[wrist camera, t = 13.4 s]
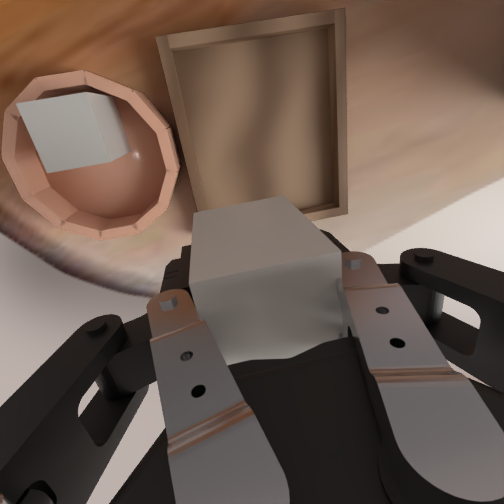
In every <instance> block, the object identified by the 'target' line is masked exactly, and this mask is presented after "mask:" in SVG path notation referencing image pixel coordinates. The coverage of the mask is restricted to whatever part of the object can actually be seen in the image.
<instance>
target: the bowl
mask: <svg viewBox="0 0 504 504" xmlns="http://www.w3.org/2000/svg"><path fill="white" fill-rule="evenodd" d="M83 92H90V93H95V94H101V95H106V96H112V97H115V100H116V103H117V106H118V110H119V113H120V116H121V119H122V122H123V125H124V129H125V132H126V135H127V138H128V141H129V144H130V147H131V152H129V153H127V154H125V155H123V156H122V157H120V158H118V159H116V160H114V161H112V162H108V163H102V164H96V165H91V166H85V167H80V168H74V169H69V170H63V171H57V172H52V173H47V172H46V170H45V167H44V165H43V163H42V161H41V159H40V156H39V154H38V152H37V150H36V147H35V145H34V143H33V141H32V138H31V136H30V134H29V132H28V130H27V127H26V125H25V123H24V121H23V118H22V116H21V114H20V112H19V110H18V107H17V105H16V103H22V102H28V101H34V100H40V99H46V98H52V97H58V96H64V95H71V94H77V93H83ZM5 111H6V112H4V122H3V135H2V149H1V156H3V157H1V158H2V160H3V162H4V164H5V166H6V168H7V170H8V172H9V174H10V176H11V178H12V180H13V182H14V184H15V186H16V188H17V190H18V192H19V194H20V196H21V198H22V199H24V200H23V201H25V202H26V203H27V204H28V205H30V206H31V207H32V208H33V209H35V210H36V211H37V212H38V213H40V214H41V215H42V216H44V217H45V218H46V219H47V220H49V221H50V222H51V223H52V224H54V225H55V226H56V227H57V228H60V229H61V230H64V231H68V232H72V233H76V234H79V235H83V236H87V237H90V238H94V239H98V240H101V239H102V240H106V239H111V238H117V237H122V236H127V235H132V234H138V233H139V232H141V231H143V230H144V229H145V228H146V227H147V226H148V225H149V224H151V223H152V222H153V221H154V220H155V219H156V218H157V217H159V216H160V215H161V214H162V213H163V212H164V211H165V210H167V208H168V205H169V203H170V201H171V198H172V195H173V191H174V188H175V184H176V181H177V178H178V174H179V171H180V167H181V162H180V158H179V154H178V150H177V146H176V142H175V138H174V134H173V130H172V127H171V125H170V124H169V123H168V122H167V121H166V119H165V118H164V117H163V116H162V115H161V114H160V112H159V111H158V110H157V109H156V108H155V107H154V105H153V104H152V103H151V102H150V101H149V100H148V99H147V97H146V96H145V95H144V94H143V93H141V92H139V91H136V90H134V89H132V88H129V87H127V86H124V85H122V84H119V83H117V82H114V81H112V80H110V79H107V78H105V77H102V76H100V75H97V74H94V73H91V72H88V71H86V70H85V71H84V70H80V71H73V72H67V73H61V74H54V75H48V76H41V77H36V78H34V79H33V80H32V81H31V82H30V83H29V85H28V86H27V87H26V88H25V89H24V90H23V91H22V92H21V93H20V94H19V95H18V96H17V98H16V99H15V100H14V101H13V102H12V103H11V104H10V105H9V106H8V107H7V108H6V109H5Z"/></svg>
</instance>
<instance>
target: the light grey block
mask: <svg viewBox="0 0 504 504" xmlns="http://www.w3.org/2000/svg"><path fill="white" fill-rule="evenodd" d="M16 105H17V107H18V110H19V112H20V114H21V116H22V118H23V121H24V123H25V125H26V127H27V130H28V132H29V134H30V136H31V138H32V141H33V143H34V145H35V147H36V150H37V152H38V154H39V156H40V159H41V161H42V163H43V165H44V167H45V170H46V172H47V173H52V172H57V171H63V170H69V169H74V168H80V167H85V166H91V165H96V164H102V163H108V162H112V161H114V160H116V159H118V158H120V157H122V156H123V155H125V154H127V153H129V152H131V147H130V144H129V141H128V138H127V135H126V132H125V129H124V125H123V122H122V119H121V116H120V113H119V110H118V106H117V103H116V100H115V97H112V96H106V95H101V94H95V93H90V92H83V93H77V94H71V95H64V96H58V97H52V98H46V99H40V100H34V101H28V102H22V103H16Z"/></svg>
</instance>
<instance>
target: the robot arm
mask: <svg viewBox="0 0 504 504" xmlns="http://www.w3.org/2000/svg"><path fill="white" fill-rule="evenodd" d="M320 231H321V232H322V233H323V234H324V235H325V236H326V237H327V238H328V239H329V240H330V241H332V242H333V243H334V244H335V245H336V246H337V247H338V248H339V249H340V250H341V259H342V277H341V278H337V279H336V280H337V294H338V298H339V302H340V306H341V311H342V320H343V333H340V334H338V335H339V339H336V340H332V341H328V342H323V343H321V344H319V345H317V346H315V347H313V348H311V349H309V350H307V351H304V352H302V353H300V354H298V355H296V356H294V357H291V358H284V359H255V360H247V361H243V362H239V363H235V364H231V365H227V364H226V362H225V360H224V358H223V356H222V354H221V352H220V350H219V348H218V346H217V344H216V342H215V340H214V338H213V336H212V333H211V331H210V329H209V327H208V325H207V323H206V321H205V320H204V318H203V319H201V318H200V316H199V314H198V312H197V310H196V307H195V303H194V300H193V297H192V293H191V290H190V286H189V272H190V258H191V245H188V246H183V247H182V252H181V258H179V259H175V260H172V261H171V262H170V263H169V264H168V265H167V266H166V268H165V273H164V277H163V282H162V286H161V291H160V293H159V294H158V295H156V296H154V297H153V298H152V299H151V300H150V301H149V302H148V304H147V313H146V314H145V315H143V316H141V317H139V318H136V319H134V320H132V321H129V322H127V323H124V324H123V322H122V320H121V318H120V317H119V316H117V315H113V314H109V315H103V316H99V317H97V318H94V319H92V320H90V321H88V322H87V323H85V324H83V325H82V326H81V327H80V328H79V329H77V331H75V332H74V333H73V335H71V337H69V339H67V340H66V342H64V344H63V345H62V346H61V347H60V348H59V349H58V350H57V351H56V352H55V353H54V354H53V355H52V356H51V357H50V358H49V359H48V360H47V361H46V362H45V363H44V364H43V365H42V366H41V367H40V368H39V369H38V370H37V371H36V372H35V373H34V374H33V375H32V376H31V377H30V378H29V379H28V380H27V381H26V382H25V383H24V384H23V385H22V386H21V387H20V388H19V389H18V390H17V391H16V392H15V393H14V394H13V395H12V396H11V397H10V398H9V399H8V400H7V401H6V402H5V403H4V404H3V405H2V406H1V407H0V504H86V503H87V501H88V499H89V497H90V495H91V494H92V492H93V490H94V488H95V486H96V485H97V483H98V481H99V479H100V477H101V475H102V474H103V472H104V470H105V468H106V466H107V464H108V463H109V461H110V459H111V457H112V455H113V454H114V452H115V450H116V448H117V446H118V445H119V443H120V441H121V439H122V437H123V435H124V434H125V432H126V430H127V428H128V426H129V424H130V423H131V421H132V419H133V417H134V415H135V413H136V412H137V409H138V408H139V406H140V404H141V402H142V401H143V399H144V397H145V395H146V394H147V391H148V388H149V384H151V383H153V382H155V381H157V383H158V389H159V394H160V400H161V405H162V411H163V416H164V421H165V429H164V430H163V432H162V433H161V434H160V436H159V437H158V438H157V440H156V441H155V442H154V444H153V445H152V446H151V448H150V449H149V451H148V452H147V453H146V455H145V456H144V457H143V459H142V460H141V461H140V463H139V464H138V465H137V467H136V468H135V469H134V471H133V472H132V474H131V475H130V476H129V478H128V479H127V480H126V482H125V483H124V484H123V486H122V487H121V489H120V490H119V491H118V492H117V494H116V495H115V496H114V498H113V499H112V500H111V502H110V503H109V504H504V272H501V271H498V270H495V269H492V268H489V267H486V266H483V265H480V264H477V263H474V262H470V261H468V260H464V259H461V258H459V257H455V256H452V255H449V254H446V253H443V252H440V251H437V250H433V249H427V248H414V249H409V250H406V251H404V252H403V253H401V255H400V264H377V263H376V262H375V260H374V258H373V257H372V256H370V255H368V254H366V253H363V252H354V251H352V252H350V251H349V250H348V249H347V248H346V247H345V246H344V245H343V244H341V243H339V241H338V240H337V239H335V237H334V236H333V235H332V234H330V233H329V232H326V231H323V230H321V229H320ZM444 295H445V296H447V297H450V298H452V299H454V300H456V301H459V302H461V303H463V304H465V305H468V306H470V307H471V308H473V309H474V310H475V311H476V312H477V313H478V315H479V316H480V319H481V323H480V328H479V329H477V328H475V327H473V326H471V325H469V324H467V323H465V322H462V321H461V320H458V319H456V318H455V317H453V316H451V315H448V314H446V313H444V312H442V308H443V300H444ZM446 359H447V360H448V361H450V362H451V363H453V364H455V365H456V366H458V367H459V368H461V369H463V370H464V371H466V372H468V373H469V374H471V375H473V376H474V377H476V378H477V379H479V380H480V381H482V382H484V383H485V384H487V385H489V386H490V387H489V386H486V385H484V384H482V383H479V382H477V381H474V380H472V379H470V378H467V377H466V376H464V375H463V374H462V373H459V372H456V371H454V370H453V369H452V368H451V367H450V365H449V364H448V362H447V360H446ZM94 381H95V382H96V383H97V385H98V387H99V390H98V391H97V393H96V394H95V396H94V397H93V398H92V400H91V401H90V403H89V404H88V405H87V407H86V408H85V410H84V411H83V412H82V414H81V415H80V416H79V417H78V406H79V403H80V401H81V399H82V397H83V396H84V394H85V393H86V392H87V390H88V389H89V388H90V386H91V385H92V384H93V382H94ZM491 387H492V388H491Z"/></svg>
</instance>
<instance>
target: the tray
mask: <svg viewBox="0 0 504 504" xmlns="http://www.w3.org/2000/svg"><path fill="white" fill-rule="evenodd" d="M155 38H156V42H157V46H158V50H159V54H160V58H161V62H162V67H163V71H164V75H165V79H166V83H167V87H168V91H169V96H170V100H171V104H172V108H173V112H174V116H175V120H176V124H177V129H178V133H179V137H180V141H181V145H182V149H183V153H184V158H185V162H186V166H187V170H188V174H189V178H190V182H191V187H192V191H193V195H194V199H195V203H196V207H197V211H198V212H201V211H206V210H211V209H216V208H221V207H226V206H231V205H236V204H241V203H246V202H252V201H257V200H262V199H267V198H272V197H277V196H282V195H284V196H285V197H286V198H287V199H288V200H289V201H290V202H291V203H292V204H293V205H294V206H295V207H296V208H297V209H298V210H299V211H301V212H302V213H303V214H304V215H305V216H306V217H307V218H308V219H309V220H310V221H314V220H319V219H324V218H329V217H335V216H340V215H345V214H348V178H347V98H346V17H345V8H341V9H334V10H327V11H321V12H314V13H308V14H301V15H294V16H288V17H281V18H275V19H268V20H261V21H255V22H248V23H242V24H235V25H228V26H222V27H215V28H209V29H202V30H195V31H189V32H182V33H176V34H169V35H163V36H156V37H155Z"/></svg>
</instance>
